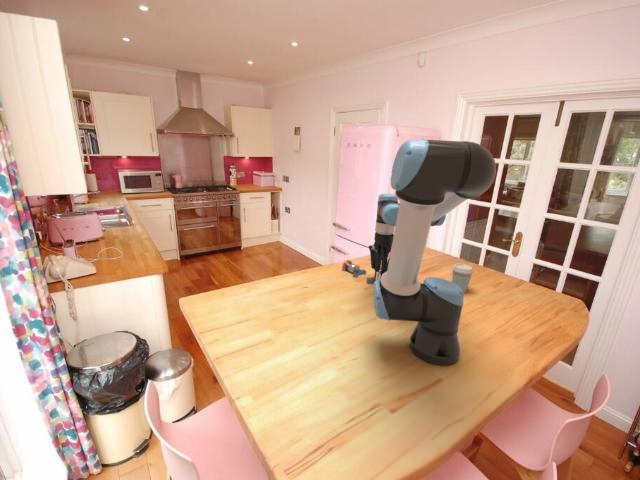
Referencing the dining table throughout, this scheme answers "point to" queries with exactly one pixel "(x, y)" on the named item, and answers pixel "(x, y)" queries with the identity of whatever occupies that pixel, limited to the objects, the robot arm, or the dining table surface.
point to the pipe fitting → (356, 271)
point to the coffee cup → (462, 275)
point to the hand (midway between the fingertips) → (378, 286)
